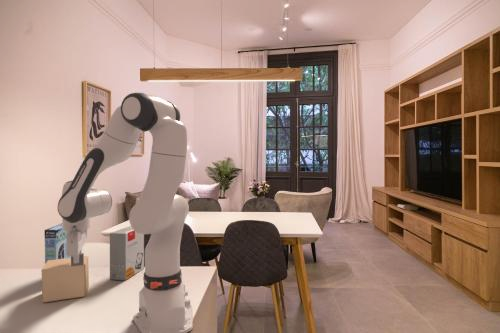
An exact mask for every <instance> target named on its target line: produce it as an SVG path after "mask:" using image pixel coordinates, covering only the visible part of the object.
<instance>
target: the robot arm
mask: <svg viewBox="0 0 500 333" xmlns="http://www.w3.org/2000/svg"><path fill="white" fill-rule="evenodd" d="M180 120H181V113H180V110H179V108H178V107H177V105H175V104H174V103H172V101H171V102H170V101H168V100H166V99H162V98H160V97H159V96H156V95H152V94H146V93H144V92H131V93H129V94H127V95H126V96H125V97H124V98H123V100H122V102H121V104H120V105H119V106H118V107H116V109H115V110H114V111H113V113H112V114H111V117H110V118H109V120H108V122H107V123H106V126H105V129H104V131H103V133H102V135H101V137H100V139H99V140H98V142H97V144H96V145H95V146H94V147H93V149H91V150H90V151H89V152H88V153H87V155H86V156H85V158H84V159H83V161H82V162H81V165H80V166H79V168H78V170H77V171H76V172H75V173H76V174H75V176H74V178H73V179H72V180H68V181H67V182H65V183H64V184H63V186H62V192H61V197H60V198H59V200H58V202H57V213H58V214H59V216H60V217H61V220H62V221H61V222H62V223H63V230H64V231H67V239H66V254H67V256H73V262H74V263H79V261H80V257H79V253H82V251H83V247H84V246H85V244H86V242H87V238H88V229H90V228H91V219H92V218H95V217H99V216H103V215H105V214H108V213H109V212H110V211H111V209H112V206H113V198H112V195H111V194H110V193H109V191H107V190H106V189H104V188H103V189H102V188H99V187H96V186H94V184H95V182H96V180H97V179H98V177H99V176H100V174H102V172H104V171H105V170H107V169H109V168H111V167H113V166H116V165H118V164H121V163H124V162H125V161H127V160H128V159H129V158H130V157H131V156H132V155H133V153H134V151H135V148H136V146H137V143H138V141H139V139H140V136H141V134H142V132H144V133H145V132H149V134H151V137H152V144H151V145H152V146H151V149H150V150H151V152H150V160H149V167H148V173H147V177H146V180H145V183H144V187H143V189H142V191H141V194H140V196H139V198H138V200H137V201H136V203H135V204H134V205H133V206H132V208H131V209H130V211H129V216H128V221H129V226H131V227H132V228H133V229H134V230H135V231H136V232H137V233H139V234H144V235H150V238H149V240H148V241H147V242H148V243H147V244H146V246H145V247H144V272H143V277H142V278H143V287H142V288H141V289H140V291H139V292H138V312H137V313H135V314H133V315H132V320H133V321H134V323H135V325H136V327H137V329H138V330H139V332H140V333H188V332H191V331H193V328H194V327H193V326H194V325H193V323H194V322H193V305H192V304H191V299H186V297H188V296H189V295H188V294H189V292H188V291H186V284H185V283H184V282H183V280H182V277H183V276H182V274H183V273H182V269H181V262H180V260H181V256H180V255H181V250H180V249H181V241H182V236H183V230H184V226H185V222H186V218H187V216H188V214H189V212H190V205H189V202H188V201H187V199H186V198H185V197H184V196H182V195H180V194H177V192H178V189H179V187H180V186H181V185H182V182H183V181H184V176H185V168H186V161H187V155H188V154H187V152H188V131H187V127H186V125H185V124H184V123H183V122H181V121H180ZM62 223H61V224H62Z"/></svg>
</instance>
